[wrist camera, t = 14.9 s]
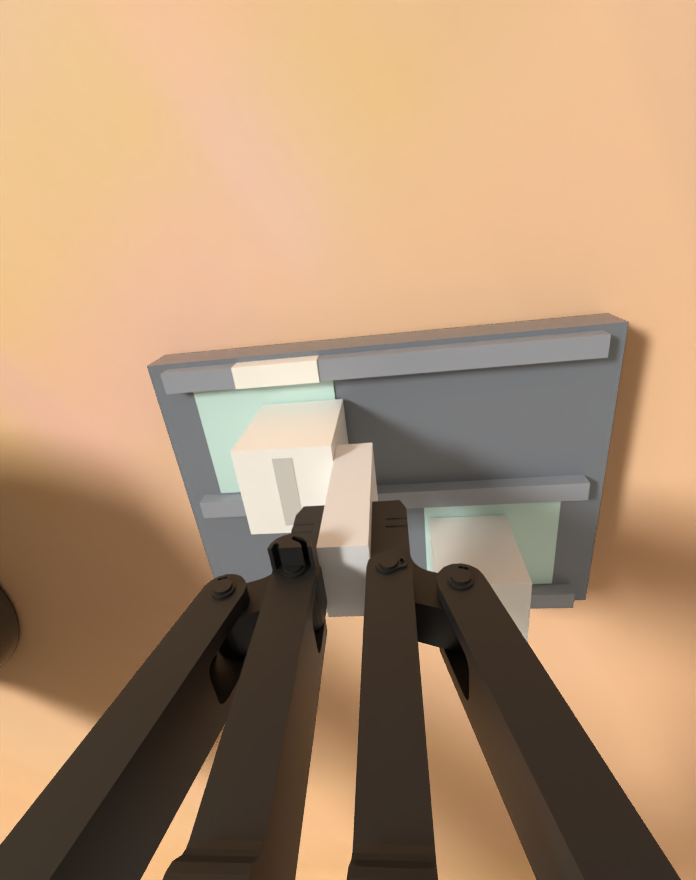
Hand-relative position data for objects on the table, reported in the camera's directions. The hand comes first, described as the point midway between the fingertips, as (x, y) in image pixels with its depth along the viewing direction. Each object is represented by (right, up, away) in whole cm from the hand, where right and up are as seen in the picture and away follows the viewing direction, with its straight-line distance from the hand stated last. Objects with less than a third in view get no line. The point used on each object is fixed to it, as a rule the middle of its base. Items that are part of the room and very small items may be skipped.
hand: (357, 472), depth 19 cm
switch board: (+2, -1, +7) cm, 7 cm away
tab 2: (+6, -5, +6) cm, 10 cm away
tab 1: (-2, +1, +4) cm, 5 cm away
